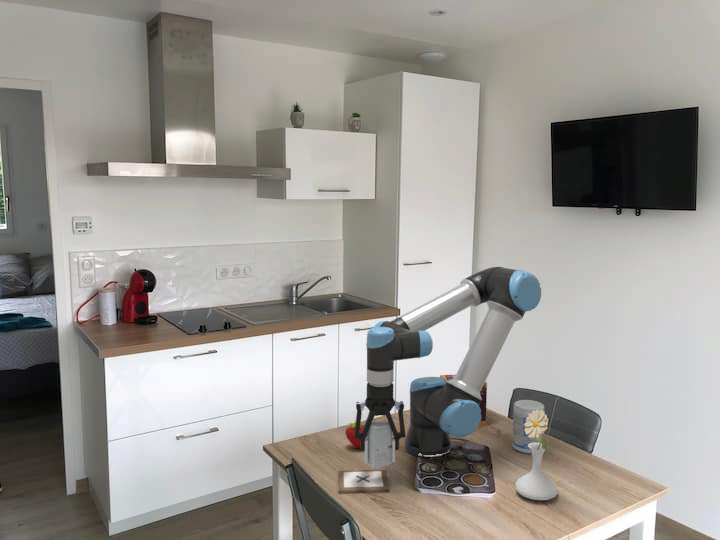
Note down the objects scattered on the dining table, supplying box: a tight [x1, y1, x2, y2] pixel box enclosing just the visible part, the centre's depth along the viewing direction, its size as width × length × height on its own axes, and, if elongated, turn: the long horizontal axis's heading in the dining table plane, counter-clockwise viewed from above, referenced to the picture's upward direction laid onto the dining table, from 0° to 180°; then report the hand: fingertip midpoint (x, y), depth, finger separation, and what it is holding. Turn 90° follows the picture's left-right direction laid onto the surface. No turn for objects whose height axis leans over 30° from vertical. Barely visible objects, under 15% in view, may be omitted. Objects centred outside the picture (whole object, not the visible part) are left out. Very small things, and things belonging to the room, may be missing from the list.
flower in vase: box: [514, 410, 559, 501], centre depth 162 cm, size 13×11×25 cm
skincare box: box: [366, 419, 393, 470], centre depth 171 cm, size 6×4×12 cm
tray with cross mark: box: [338, 469, 390, 494], centre depth 172 cm, size 14×12×1 cm
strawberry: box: [345, 422, 367, 449], centre depth 194 cm, size 6×8×10 cm
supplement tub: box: [511, 399, 545, 454], centre depth 193 cm, size 10×10×15 cm
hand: (379, 460), depth 171 cm, fingers closed on skincare box, 7 cm apart
